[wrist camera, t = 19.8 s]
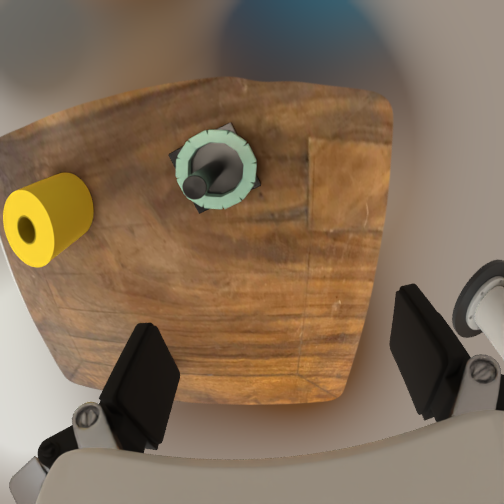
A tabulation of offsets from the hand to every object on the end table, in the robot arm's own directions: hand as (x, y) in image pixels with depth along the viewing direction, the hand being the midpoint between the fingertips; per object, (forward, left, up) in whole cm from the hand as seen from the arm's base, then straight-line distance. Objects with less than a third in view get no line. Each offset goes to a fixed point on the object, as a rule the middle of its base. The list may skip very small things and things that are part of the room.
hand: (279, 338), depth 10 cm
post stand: (+4, -5, -25) cm, 26 cm away
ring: (+4, -5, -24) cm, 24 cm away
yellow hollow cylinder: (+26, -11, -25) cm, 38 cm away
